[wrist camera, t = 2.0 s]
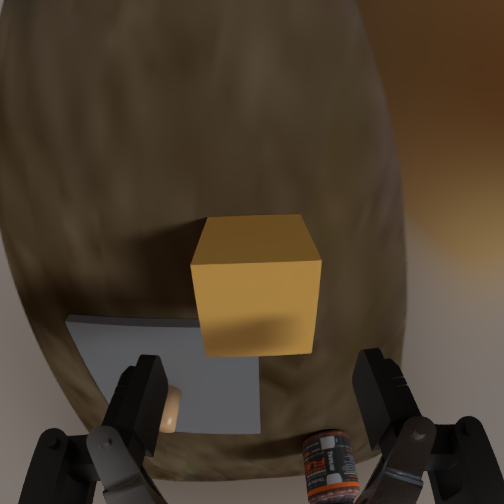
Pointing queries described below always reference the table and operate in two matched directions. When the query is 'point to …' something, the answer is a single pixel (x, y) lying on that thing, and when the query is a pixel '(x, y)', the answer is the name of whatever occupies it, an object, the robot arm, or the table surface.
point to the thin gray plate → (174, 371)
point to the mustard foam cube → (256, 285)
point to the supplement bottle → (330, 468)
